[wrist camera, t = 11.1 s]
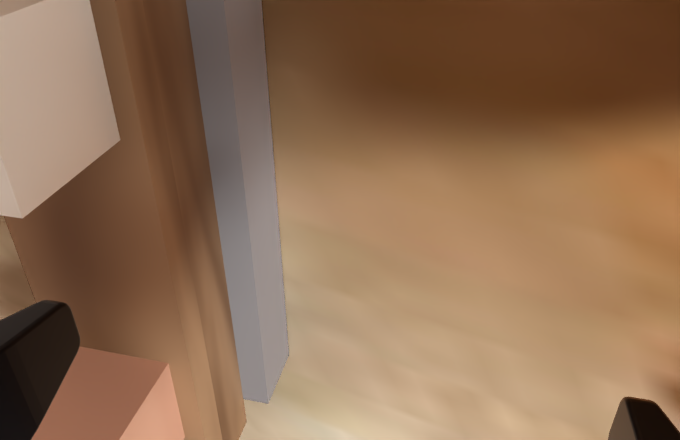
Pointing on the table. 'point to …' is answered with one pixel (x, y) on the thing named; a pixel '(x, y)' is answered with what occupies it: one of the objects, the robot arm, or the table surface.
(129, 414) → the block
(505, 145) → the table surface
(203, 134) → the tan long bar
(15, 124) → the block
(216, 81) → the block
